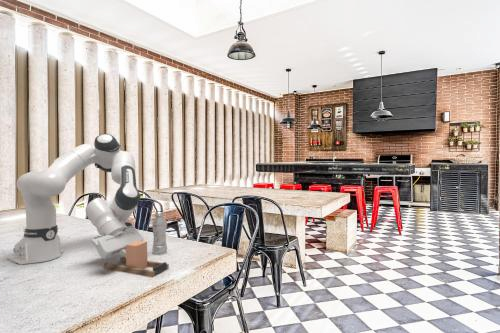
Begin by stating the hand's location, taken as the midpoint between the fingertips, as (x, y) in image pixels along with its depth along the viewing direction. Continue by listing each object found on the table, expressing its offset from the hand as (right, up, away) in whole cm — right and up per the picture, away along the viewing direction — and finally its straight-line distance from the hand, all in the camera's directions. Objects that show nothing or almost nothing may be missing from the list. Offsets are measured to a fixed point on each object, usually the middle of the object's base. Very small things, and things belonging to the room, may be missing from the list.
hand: (131, 258), depth 118 cm
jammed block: (+3, -4, -1) cm, 5 cm away
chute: (+3, -5, -1) cm, 6 cm away
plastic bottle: (+6, -5, +19) cm, 20 cm away
